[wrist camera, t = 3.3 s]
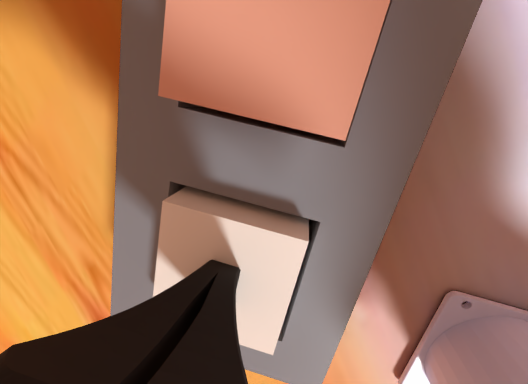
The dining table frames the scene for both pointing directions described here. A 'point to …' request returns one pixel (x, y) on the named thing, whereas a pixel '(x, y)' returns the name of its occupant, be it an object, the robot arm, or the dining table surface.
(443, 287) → the dining table surface
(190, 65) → the terracotta key
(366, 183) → the key panel
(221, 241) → the cream key
